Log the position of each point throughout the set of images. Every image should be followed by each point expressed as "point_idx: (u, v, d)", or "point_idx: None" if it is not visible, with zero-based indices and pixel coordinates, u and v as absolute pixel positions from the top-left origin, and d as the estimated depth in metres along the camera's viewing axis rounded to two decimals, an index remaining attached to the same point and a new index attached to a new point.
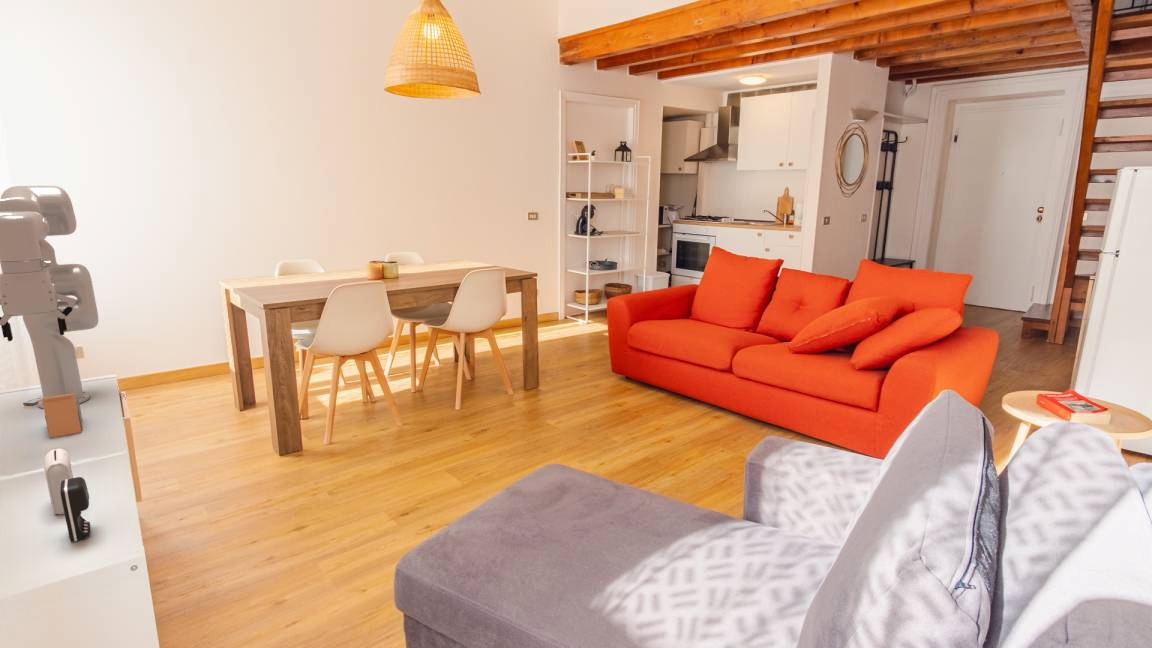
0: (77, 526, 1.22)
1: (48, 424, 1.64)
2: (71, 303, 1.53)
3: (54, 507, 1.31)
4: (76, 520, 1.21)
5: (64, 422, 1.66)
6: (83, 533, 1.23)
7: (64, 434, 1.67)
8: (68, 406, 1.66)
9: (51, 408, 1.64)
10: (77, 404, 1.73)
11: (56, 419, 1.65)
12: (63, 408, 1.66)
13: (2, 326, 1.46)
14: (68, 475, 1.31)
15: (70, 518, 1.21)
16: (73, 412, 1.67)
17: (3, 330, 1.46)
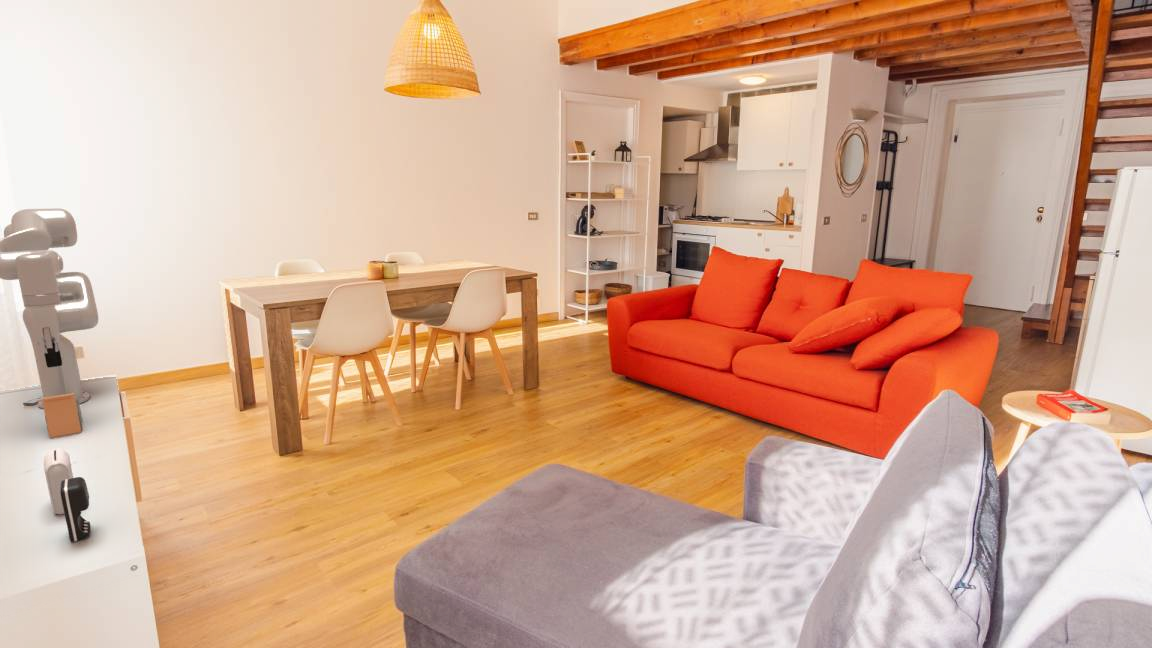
0: (77, 526, 1.22)
1: (48, 424, 1.64)
2: None
3: (54, 507, 1.31)
4: (76, 520, 1.21)
5: (64, 422, 1.66)
6: (83, 533, 1.23)
7: (64, 434, 1.67)
8: (68, 406, 1.66)
9: (51, 408, 1.64)
10: (77, 404, 1.73)
11: (56, 419, 1.65)
12: (63, 408, 1.66)
13: (56, 353, 1.68)
14: (68, 475, 1.31)
15: (70, 518, 1.21)
16: (73, 412, 1.67)
17: (56, 357, 1.68)
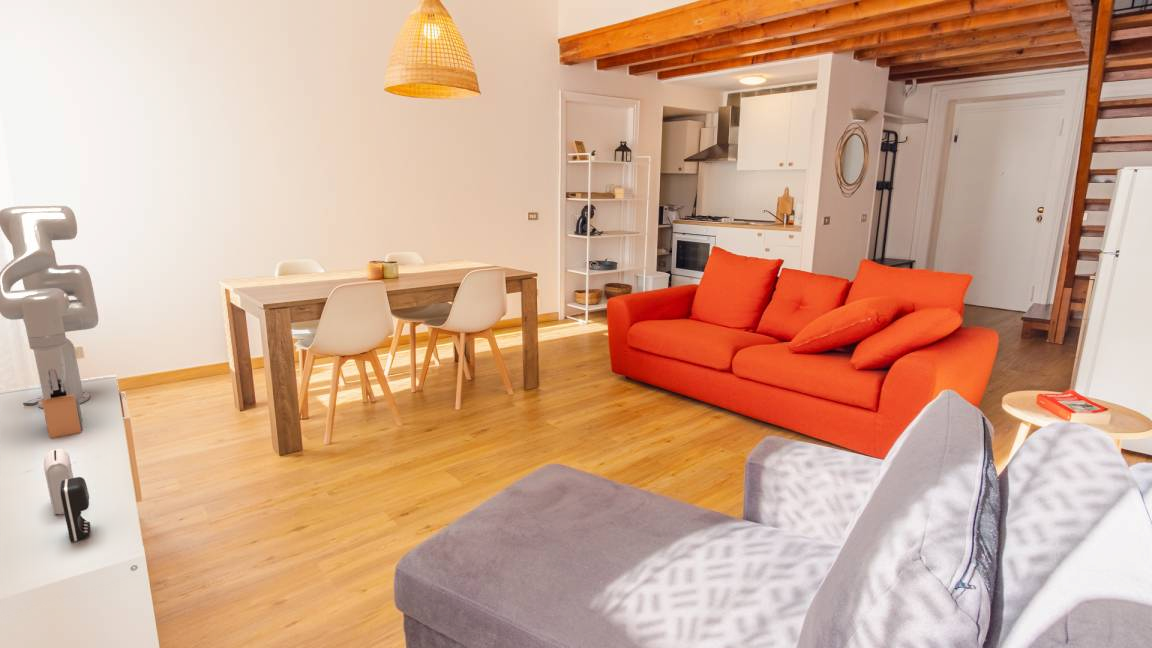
0: (77, 526, 1.22)
1: (48, 425, 1.64)
2: None
3: (54, 507, 1.31)
4: (76, 520, 1.21)
5: (64, 423, 1.66)
6: (83, 533, 1.23)
7: (64, 434, 1.67)
8: (68, 407, 1.66)
9: (51, 409, 1.63)
10: (77, 404, 1.73)
11: (56, 419, 1.65)
12: (63, 409, 1.65)
13: (62, 394, 1.65)
14: (68, 475, 1.31)
15: (70, 518, 1.21)
16: (73, 413, 1.67)
17: None
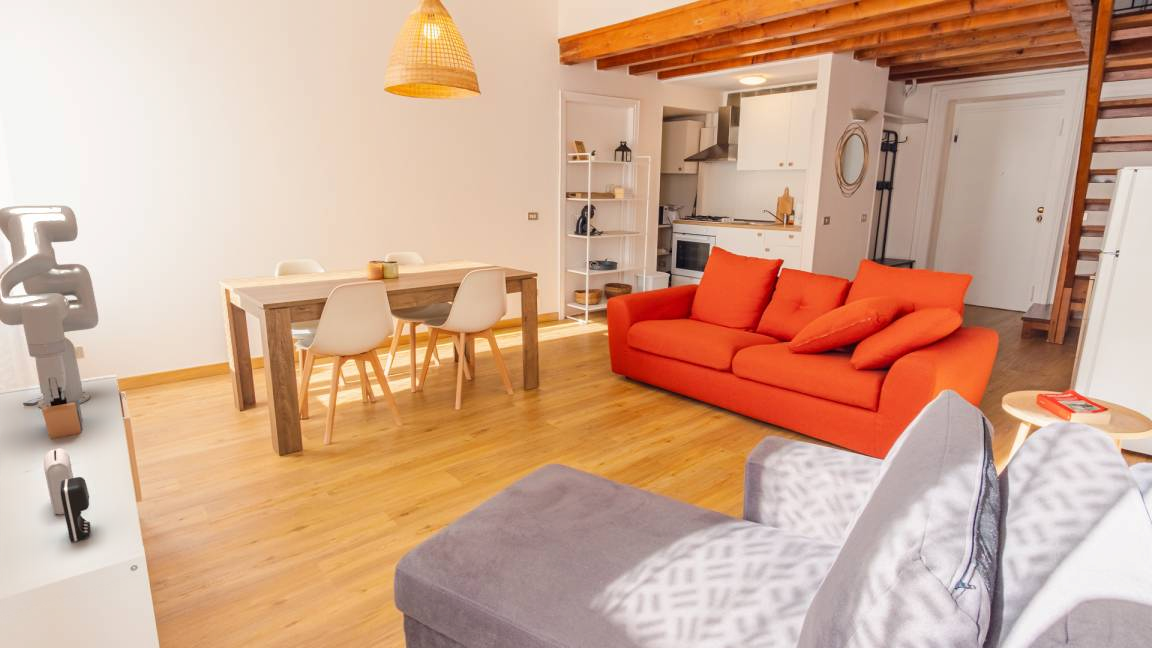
0: (77, 526, 1.22)
1: (48, 428, 1.63)
2: None
3: (54, 507, 1.31)
4: (76, 520, 1.21)
5: (64, 426, 1.65)
6: (83, 533, 1.23)
7: (64, 435, 1.67)
8: (68, 414, 1.64)
9: (51, 416, 1.61)
10: (77, 404, 1.73)
11: (56, 424, 1.64)
12: (63, 416, 1.63)
13: (62, 401, 1.63)
14: (68, 475, 1.31)
15: (70, 518, 1.21)
16: (73, 418, 1.65)
17: None
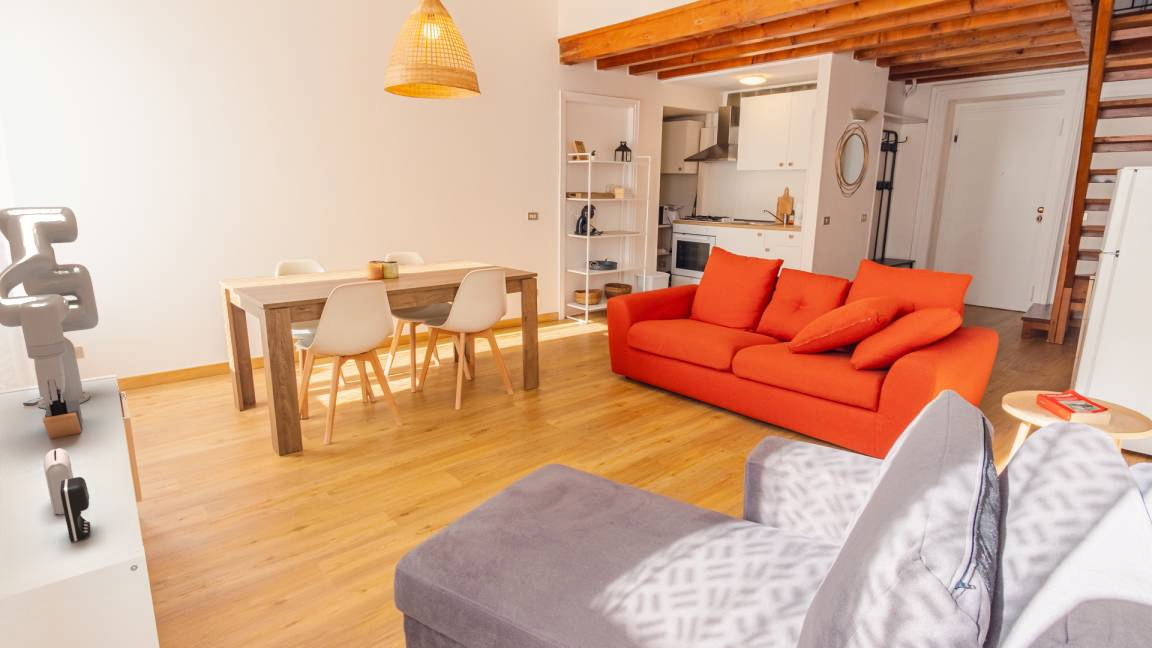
0: (77, 526, 1.22)
1: (49, 432, 1.63)
2: None
3: (54, 507, 1.31)
4: (76, 520, 1.21)
5: (65, 430, 1.65)
6: (83, 533, 1.23)
7: (64, 435, 1.67)
8: (69, 421, 1.63)
9: (52, 424, 1.60)
10: (77, 404, 1.73)
11: (57, 429, 1.63)
12: (64, 423, 1.62)
13: (61, 404, 1.60)
14: (68, 475, 1.31)
15: (70, 518, 1.21)
16: (74, 424, 1.64)
17: (62, 408, 1.60)
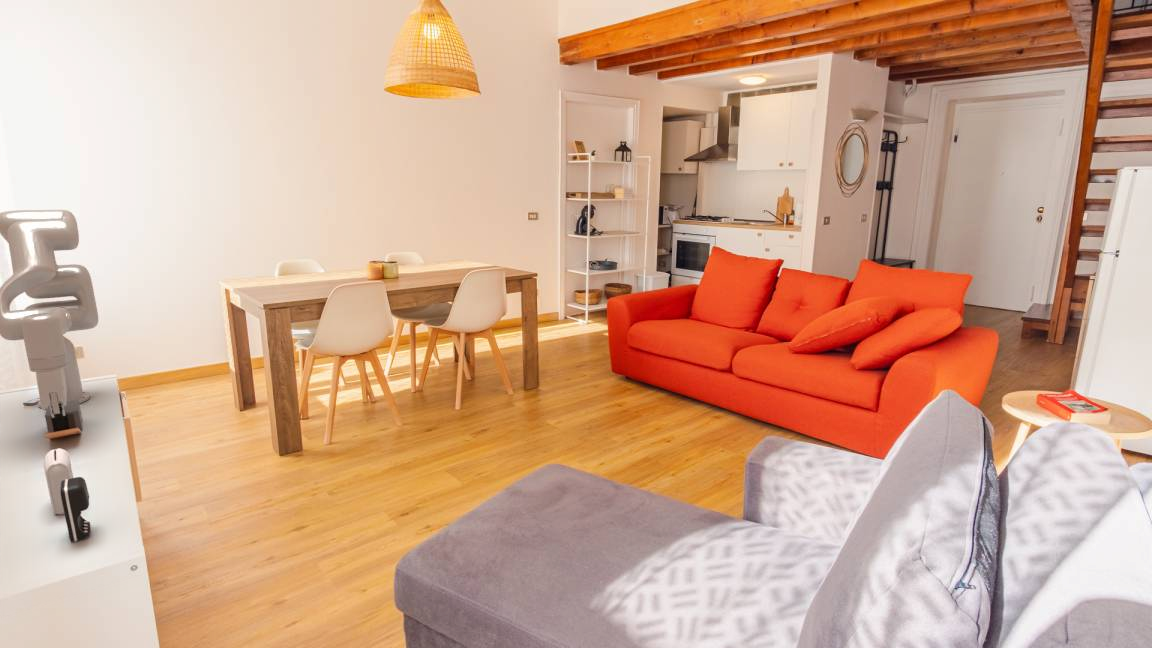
0: (77, 526, 1.22)
1: (49, 438, 1.62)
2: None
3: (54, 507, 1.31)
4: (76, 520, 1.21)
5: (66, 435, 1.65)
6: (83, 533, 1.23)
7: (64, 436, 1.67)
8: None
9: None
10: (77, 404, 1.73)
11: (58, 436, 1.63)
12: None
13: (63, 417, 1.59)
14: (68, 475, 1.31)
15: (70, 518, 1.21)
16: (75, 432, 1.64)
17: (64, 421, 1.59)
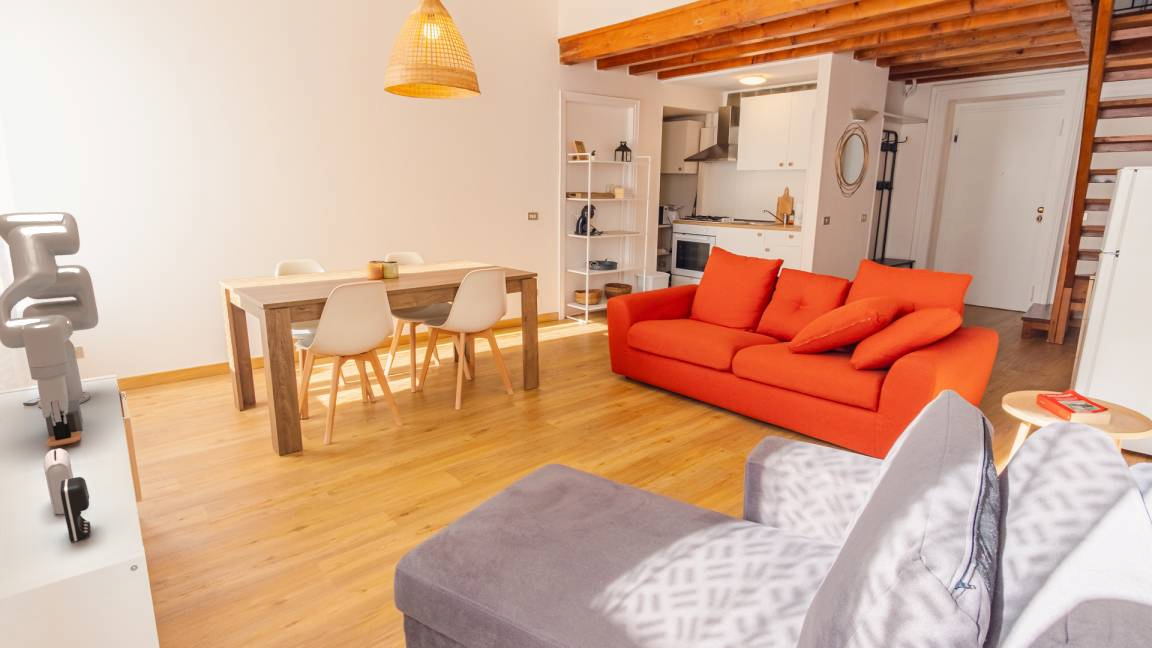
0: (77, 526, 1.22)
1: None
2: None
3: (54, 507, 1.31)
4: (76, 520, 1.21)
5: None
6: (83, 533, 1.23)
7: None
8: None
9: None
10: (77, 404, 1.73)
11: None
12: None
13: (64, 425, 1.59)
14: (68, 475, 1.31)
15: (70, 518, 1.21)
16: None
17: (65, 429, 1.59)
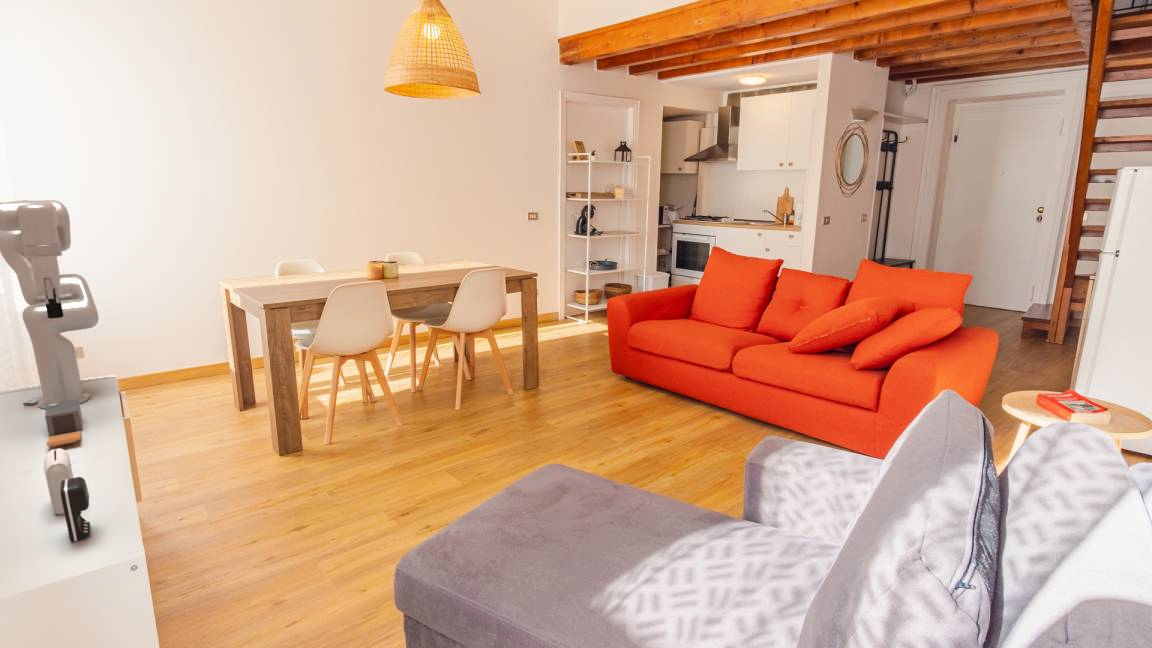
0: (77, 526, 1.22)
1: None
2: None
3: (54, 507, 1.31)
4: (76, 520, 1.21)
5: None
6: (83, 533, 1.23)
7: None
8: None
9: None
10: (77, 404, 1.73)
11: None
12: None
13: (57, 305, 1.69)
14: (68, 475, 1.31)
15: (70, 518, 1.21)
16: None
17: (57, 308, 1.69)
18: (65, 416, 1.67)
